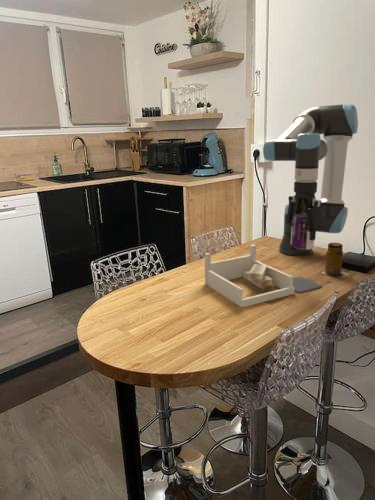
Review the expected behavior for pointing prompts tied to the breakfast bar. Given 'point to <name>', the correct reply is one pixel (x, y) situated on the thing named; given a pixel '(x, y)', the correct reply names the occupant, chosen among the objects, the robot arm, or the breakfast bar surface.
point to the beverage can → (299, 231)
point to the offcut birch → (257, 272)
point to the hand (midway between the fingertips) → (301, 246)
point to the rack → (236, 268)
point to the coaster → (304, 285)
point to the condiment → (334, 261)
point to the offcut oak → (264, 283)
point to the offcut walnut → (263, 289)
